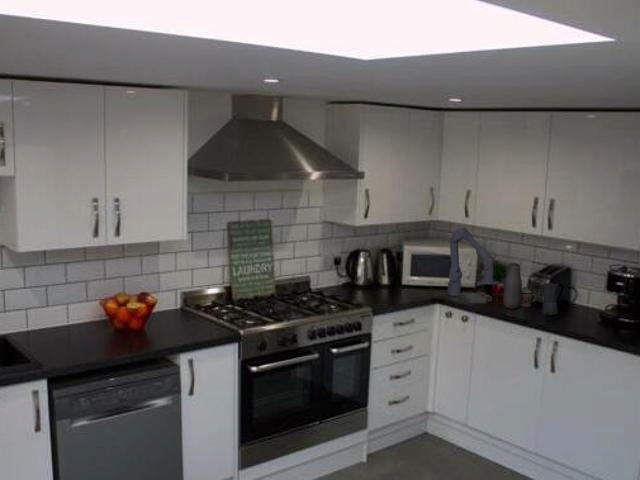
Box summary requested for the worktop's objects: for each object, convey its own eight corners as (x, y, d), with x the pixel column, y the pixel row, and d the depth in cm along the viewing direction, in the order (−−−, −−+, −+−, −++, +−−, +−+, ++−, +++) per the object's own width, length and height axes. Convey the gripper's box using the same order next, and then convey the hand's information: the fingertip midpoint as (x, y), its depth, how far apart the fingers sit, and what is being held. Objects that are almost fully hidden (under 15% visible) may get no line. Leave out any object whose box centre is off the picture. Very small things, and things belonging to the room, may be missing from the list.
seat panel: (461, 296, 433) (461, 292, 433) (475, 296, 434) (476, 292, 434) (470, 303, 415) (470, 299, 415) (486, 303, 417) (486, 299, 416)
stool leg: (475, 296, 435) (476, 291, 435) (480, 295, 436) (480, 291, 436) (487, 301, 420) (487, 296, 420) (491, 301, 421) (492, 296, 421)
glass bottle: (512, 306, 411) (515, 261, 407) (523, 310, 401) (526, 264, 397) (499, 307, 407) (502, 261, 403) (509, 311, 398) (512, 264, 394)
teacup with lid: (518, 307, 409) (520, 288, 407) (514, 303, 418) (515, 285, 416) (538, 307, 409) (539, 288, 408) (533, 303, 418) (534, 285, 417)
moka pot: (534, 312, 396) (536, 279, 394) (555, 310, 402) (557, 278, 399) (544, 316, 388) (547, 282, 385) (566, 314, 393) (568, 281, 390)
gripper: (479, 276, 421) (478, 297, 422) (501, 276, 423) (500, 297, 424) (475, 274, 428) (475, 295, 429) (497, 274, 429) (496, 295, 431)
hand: (487, 296), depth 427 cm, fingers closed, pressing on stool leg
